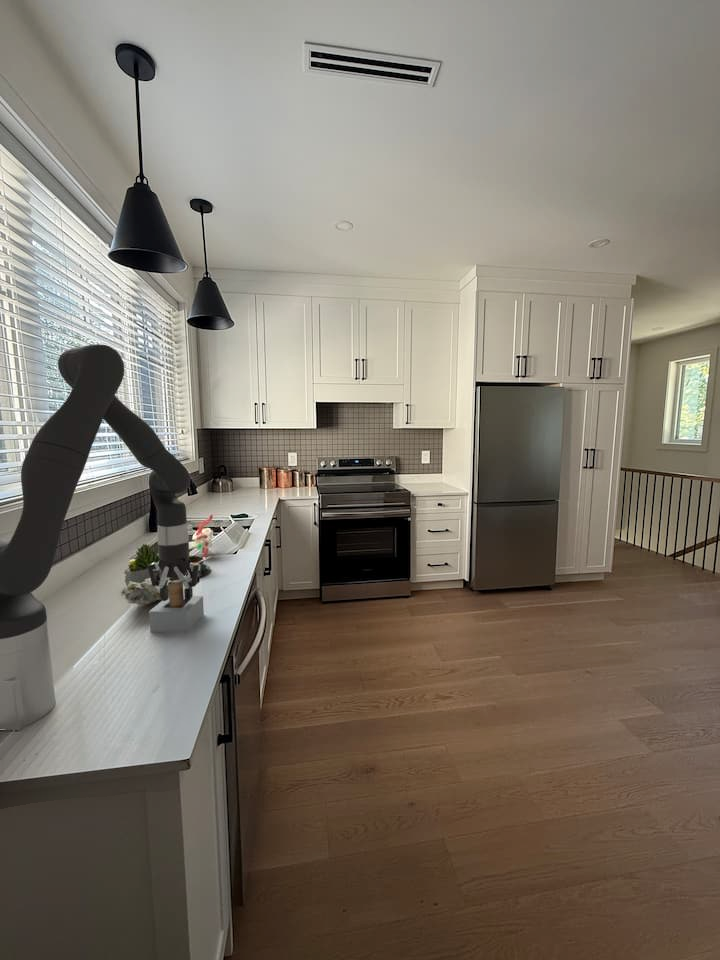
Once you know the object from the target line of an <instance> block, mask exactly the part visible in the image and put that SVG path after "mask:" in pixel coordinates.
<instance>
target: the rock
mask: <svg viewBox="0 0 720 960" xmlns="http://www.w3.org/2000/svg"><path fill="white" fill-rule="evenodd" d="M120 595H121V596H124V597H125V600H126V601H127V603H128V604H133V605H137V606H140V607H144V606H147V605H151V604H153V603H155V602H156V601H158V600H159V601H160V600H162V599H161V597H160V588H159V587H158V586H153V585H152V582H151V578H149V579H145V581H144V582H142V583H136V582H132V581H129V584H128V586H127V585H126V587H125V588H122V590H121V591H120Z"/></svg>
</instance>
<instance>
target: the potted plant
mask: <svg viewBox="0 0 720 960" xmlns="http://www.w3.org/2000/svg"><path fill="white" fill-rule="evenodd" d="M157 550H158V548H155V547H154V546H152V544H150V545H149V543H147V544H146V543H142V545H140V547H138V546H137V551H135V556H134V558H135V559H134V558H132V559H130V560H129V563H128V564H127V566H128V568H127V569H125V571H124V575H125V576H124V582H125V585H126V587H127V586H128V584H129V581H132V582H136V583H142V582H144V581H145V579H149V578H150V574H149V570H148V565H150V564H152V563H153V562H156V563H159V560H160V559H159V554H158V551H157ZM159 574H160V578H161V576H162V574H163V571H162V570H161V569H160V568H159Z"/></svg>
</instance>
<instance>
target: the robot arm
mask: <svg viewBox="0 0 720 960" xmlns="http://www.w3.org/2000/svg"><path fill="white" fill-rule="evenodd" d="M57 367H58V371H59V374H60V375H61V377H62V379H63V380H64V382H66V383H67V385H68V386H69V387H70V388H71V391H70V393H69V395H68V397H67V398H66V400H65V401H64V402H63V404H61V406H60V407H59V408H57V410H56V411H55V412H54V413H53V414H52V415H51V416H50V417H49V418H48V420H47V421H46V422H45V423H44V424H43V425H42V426H41V427H40V429H38V431H37V432H36V434H35V436H34V437H33V439H32V441H31V444H30V445H29V448H28V450H27V452H26V454H25V456H24V457H25V458H24V459H23V462H22V465H21V469H20V482H21V483H20V484H21V492H22V500H23V501H22V511H21V515H20V518H19V521H18V523H17V526H16V528H15V531H14V533H13V535H12V537H11V538H10V539H0V729H5V730H17V731H16V732H19V730H20V731H21V730H22V729H24V728H25V727H27V726H29V725H31V724H33V723H35V722H37V721H39V720H41V719H43V718H44V717H45V716H46V715H48V714H49V713H50V712H51V711H52V710H53V709H54V707H55V706H56V694H55V683H54V674H53V664H52V655H51V647H50V637H49V627H48V619H47V618H48V615H47V608H46V606H45V604H43V603H42V602H41V601H40V599H39V600H38V599H37V598H36V597H35V596H34V594H33V592H34V591H36V590H37V589H38V588H39V587H40V586H42V584H43V583H44V582H45V580H46V579H47V578H48V576H49V574H50V572H51V569H52V568H53V564H54V562H55V557H56V553H57V549H58V546H59V542H60V537H61V533H62V529H63V527H64V526H63V525H64V522H65V519H66V516H67V512H68V511H69V508H70V505H71V502H72V500H73V496H74V494H75V491H76V488H77V486H78V484H79V481H80V479H81V476H82V474H83V472H84V469H85V467H86V464H87V461H88V458H89V456H90V452H91V450H92V446H93V444H94V442H95V439H96V437H97V435H98V432H99V430H100V427H101V424H102V421H105V422H106V424H107V425H108V426H109V427H110V428H111V429H112V430H113V431H114V432H115V433H116V435H117V436H118V437H119V439H121V440H122V442H123V443H124V444H125V446H126V448H128V450H129V451H130V453H132V455H133V456H134V458H135V459H136V460H137V462H138V463H139V464H140V465H141V466H142V467H144V468H147V469H150V470H151V472H150V473H149V476H148V486H149V491H150V492H149V493H150V495H151V498H152V501H153V503H154V506H155V508H156V519H157V529H156V530H157V531H156V534H157V537H156V538H157V550H158V551H157V552H158V554H159V559H160V560H159V563H156V562H153V563H152V564H150V565H148V570H149V574H150V578H151V582H152V585H153V586H158V587H159V588H160V597H161V599H160V600H161V601H166V600H167V599H168V598H169V589H168V583H169V582H170V580H171V579H170V578H172V577H176V578H179V579H180V581H181V582H182V583H183V593H184V596H185V601H189V600H190V599H191V598H192V596H194V595H193V593H194V592H193V587H196V586H197V585H198V584H199V583H200V581H201V580H200V579H201V576H200V573H201V566H202V564H201V563H197V564H196V563H191V561H190V559H189V556H190V549H189V542H190V539H189V538H190V535H189V528H188V523H187V521H188V520H187V508H186V504H185V503H184V502H183V501H181V500H179V499H178V498H177V495H176V494H182V493H184V492H186V491H187V490H188V489H189V487H190V485H191V477H190V473H189V471H188V469H187V468H186V467H185V465H183V463H181V462H180V461H179V459H177V458H176V456H174V455H173V454H172V453H171V452H170V451H169V450H167V448H166V446H165V445H164V444H163V442H162V441H161V438H160V437H159V436H158V435H157V433H156V432H155V431H154V429H153V428H152V427H151V425H149V424H148V423H147V422H146V421H145V420H144V419H142V418H141V417H140V416H139V415H137V414H136V413H135V412H134V411H132V410H131V409H130V408H129V407H128V406H127V405H125V404H124V403H123V402H122V401H121V400H120V399H119V398H118V397H117V395H116V394H117V392H118V390H119V388H120V386H121V384H122V382H123V379H124V376H125V364H124V361H123V359H122V356H121V355H120V353H119V352H118V351H117V350H116V349H115V348H113V347H112V346H110V345H106V344H101V343H100V344H99V343H97V344H96V343H95V344H87V345H83V346H82V345H81V346H77V347H73V348H70V349H69V348H68V349H66V350H64V351H63V352H62V353H61V354H60V356H59V357H58V361H57ZM189 567H190V568H191V571H192V572H193V574H192V579H191V578H190V573H189V571H188V569H189ZM159 568H160V569H161V570H162V571H163V574H162V576H161V578H160V574H159ZM184 575H185V576H184Z"/></svg>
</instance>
